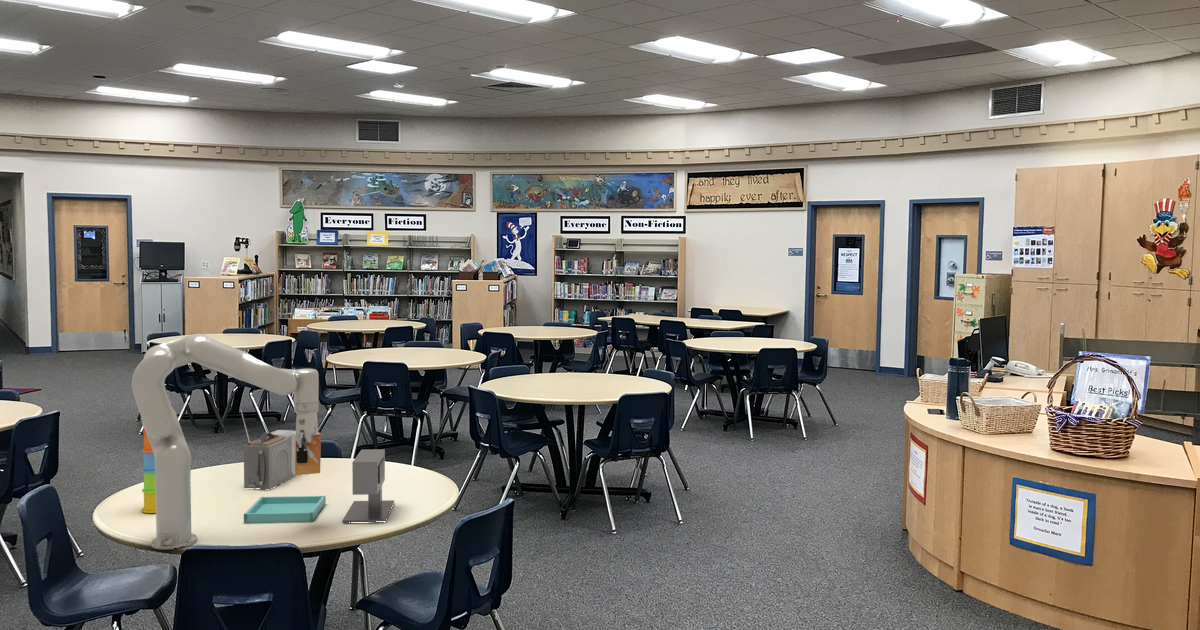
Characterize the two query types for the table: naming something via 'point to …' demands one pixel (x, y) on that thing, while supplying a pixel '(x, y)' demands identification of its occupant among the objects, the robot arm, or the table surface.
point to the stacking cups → (149, 477)
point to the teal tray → (285, 509)
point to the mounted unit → (369, 488)
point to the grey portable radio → (268, 459)
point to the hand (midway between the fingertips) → (306, 459)
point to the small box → (313, 456)
